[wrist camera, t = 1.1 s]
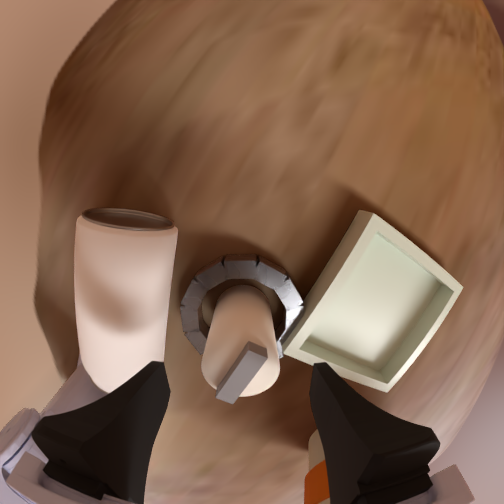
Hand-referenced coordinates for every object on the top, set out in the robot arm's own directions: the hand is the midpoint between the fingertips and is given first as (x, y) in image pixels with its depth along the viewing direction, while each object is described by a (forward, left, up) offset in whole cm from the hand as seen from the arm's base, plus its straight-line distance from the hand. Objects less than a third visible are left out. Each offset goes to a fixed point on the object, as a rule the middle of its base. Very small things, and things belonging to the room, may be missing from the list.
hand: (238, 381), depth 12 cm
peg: (0, 0, -8) cm, 8 cm away
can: (+3, +9, -5) cm, 11 cm away
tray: (+5, -9, -8) cm, 13 cm away
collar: (0, 0, -8) cm, 8 cm away
